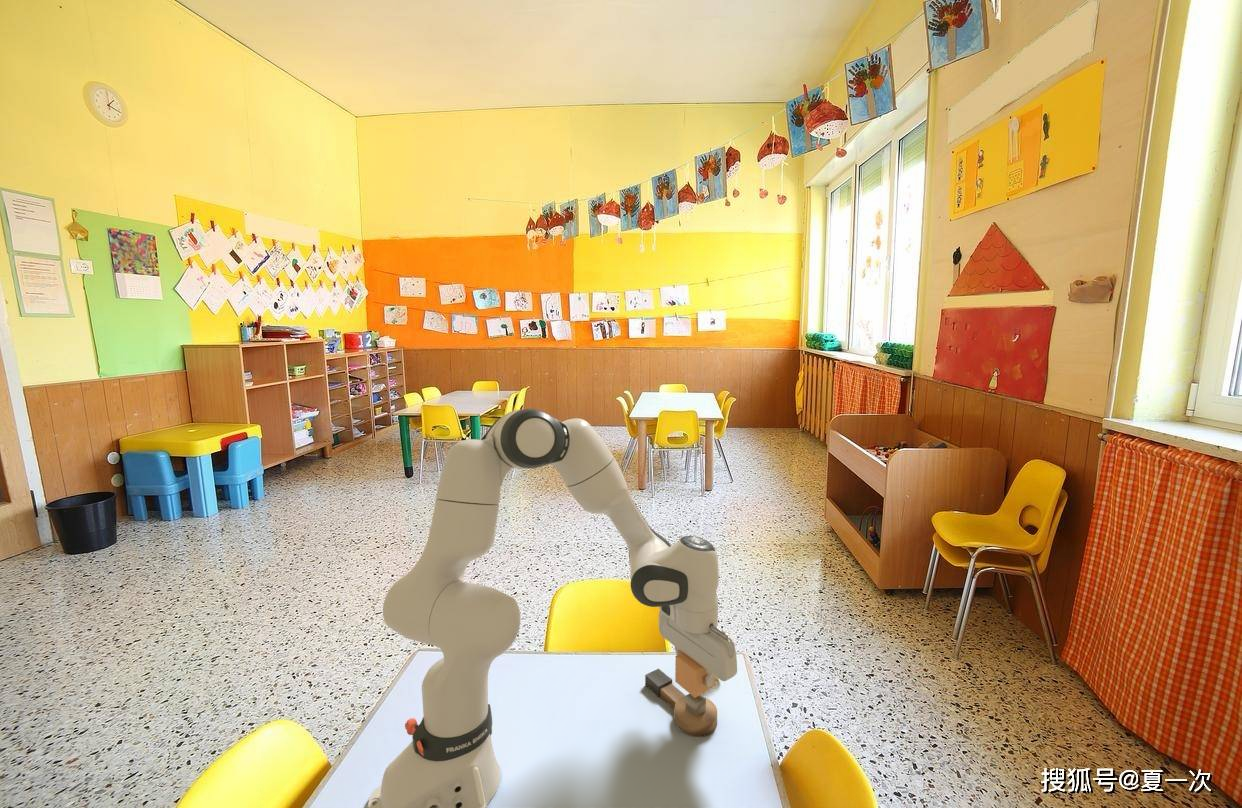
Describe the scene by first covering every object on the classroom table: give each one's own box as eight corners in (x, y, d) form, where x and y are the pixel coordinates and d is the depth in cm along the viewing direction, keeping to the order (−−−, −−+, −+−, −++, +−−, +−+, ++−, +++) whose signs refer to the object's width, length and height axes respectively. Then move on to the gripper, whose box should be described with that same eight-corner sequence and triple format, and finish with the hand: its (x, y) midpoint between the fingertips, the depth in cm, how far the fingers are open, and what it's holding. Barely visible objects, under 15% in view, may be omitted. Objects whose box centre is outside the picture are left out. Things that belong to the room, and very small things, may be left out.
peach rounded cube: (715, 685, 109) (716, 659, 108) (694, 697, 106) (695, 670, 105) (695, 670, 114) (696, 645, 113) (675, 681, 111) (675, 655, 110)
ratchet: (694, 743, 104) (694, 718, 104) (636, 689, 120) (636, 667, 119) (726, 724, 109) (726, 700, 109) (666, 674, 125) (666, 653, 124)
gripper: (745, 632, 101) (743, 696, 103) (675, 589, 118) (675, 646, 120) (722, 644, 97) (721, 710, 100) (653, 598, 114) (653, 656, 116)
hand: (695, 674), depth 110 cm, fingers closed on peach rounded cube, 6 cm apart
